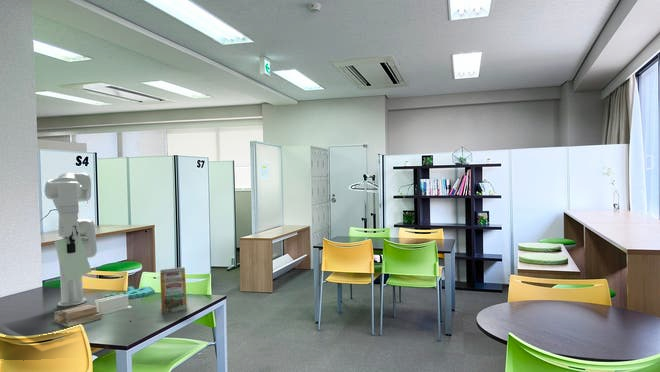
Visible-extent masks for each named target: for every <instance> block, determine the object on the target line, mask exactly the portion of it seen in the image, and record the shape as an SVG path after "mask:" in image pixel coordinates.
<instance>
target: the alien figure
mask: <svg viewBox="0 0 660 372" xmlns="http://www.w3.org/2000/svg"><path fill="white" fill-rule="evenodd" d="M120 294H124V295H128V300H129V299H130V300H131V299H136V298H142V297H148V296H151V295H153V294H156V292H155V289H154V288H152V287H151V286H142V287H139V288H137V289H136V288H135V287H134V286H127V291H125V292H119V293H112V294H105V295H104V298H107V297H111V296H116V295H120Z"/></svg>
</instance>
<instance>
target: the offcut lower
mask: <svg viewBox="0 0 660 372" xmlns="http://www.w3.org/2000/svg"><path fill="white" fill-rule="evenodd" d="M96 314H98V312H96V313H92V314H88V315H84V316H80V317H76V318H72V319H66V318H64V317H63V323H64V324H67V325H68V322H69V321H73V320H76V319H80V318H84V317H88V316H92V315H96Z"/></svg>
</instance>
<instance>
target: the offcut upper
mask: <svg viewBox="0 0 660 372" xmlns="http://www.w3.org/2000/svg"><path fill="white" fill-rule="evenodd" d="M85 305H86V306H83V305H81V306H82V307H79V306H77V307H78V308H74V307H73V308H74V309H70V308H69V309H70V310H66V309H64V310H65V311H63V317H64V318H66V319H72V318H76V317H80V316H84V315H88V314H92V313H96V312H97V307H96V306H95V305H92V304H85ZM97 313H98V312H97Z"/></svg>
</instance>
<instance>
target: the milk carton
mask: <svg viewBox="0 0 660 372" xmlns="http://www.w3.org/2000/svg"><path fill="white" fill-rule="evenodd" d="M159 273H160V274H159V275H160V280H159V281H160V302H161V315H166V314H167V315H168V314H175V313H182V312H188V308H187V307H188V306H187V305H188V303H187V288H186V287H187V284H186V283H187V282H186V280H187V279H186V269H185V267H184V266H183V267H182V266H181V267H175V268H174V267H173V268H166V269H165V268H163V269H160V271H159Z"/></svg>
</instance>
